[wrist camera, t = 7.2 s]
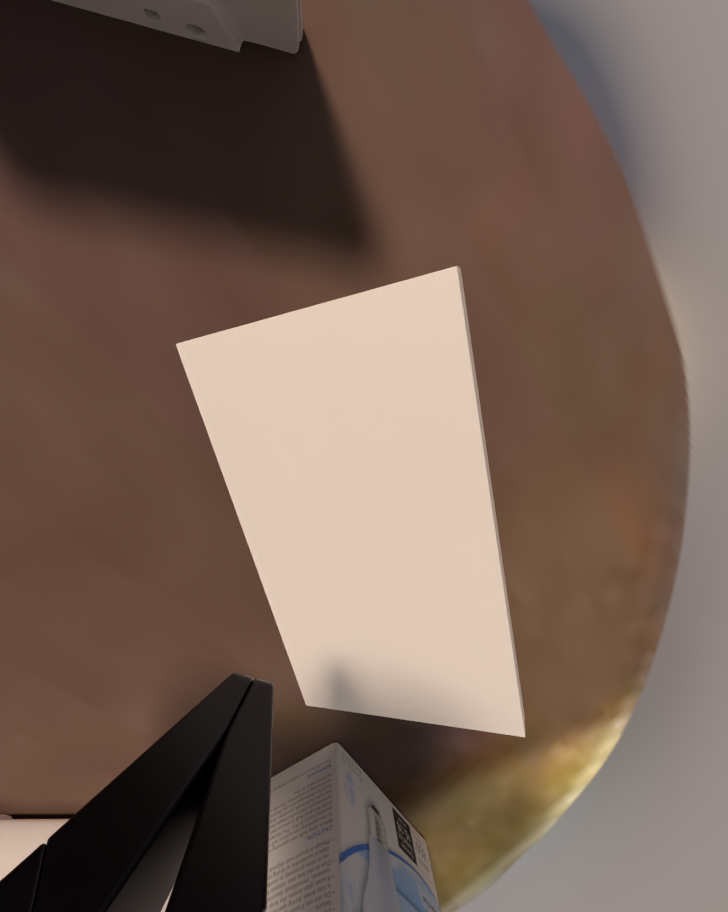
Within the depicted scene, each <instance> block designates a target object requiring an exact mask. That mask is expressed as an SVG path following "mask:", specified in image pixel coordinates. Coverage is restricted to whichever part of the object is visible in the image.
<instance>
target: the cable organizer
mask: <svg viewBox="0 0 728 912" xmlns="http://www.w3.org/2000/svg"><path fill="white" fill-rule="evenodd" d="M68 820H69V819H12V817H11V816H9V815H6V814H0V880H2V879H3V878H4V877H5V876H6V875H7V874H9V873H10V872H11V871H12V870H13V869H14V868H15V867H16V866H18V865H19V864H20V863H21V862H22V861H23V860H24V859H25V858H26V857H28V856H29V855H30V854H31V853H32V852H33V851H34V850H35V849H37V848H38V847H39V846H40V845H41V844H43V843H45V844H47V840H48V838H49V837H50V836H51V835H52V834H54V833H55V832H56V831H57V830H58V829H59V828H60V827H61V826H63V825H64V824H65V823H66V822H67V821H68ZM172 889H173V888H172ZM171 892H172V890H171ZM171 892H170V894H169V896H168V898H167V900H166V902H165V904H164V906H163V908H162V910H161V912H165V910H166V907H167V904H168V901H169V898H170V895H171Z"/></svg>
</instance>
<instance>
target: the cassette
mask: <svg viewBox="0 0 728 912" xmlns="http://www.w3.org/2000/svg"><path fill="white" fill-rule="evenodd" d="M52 1H55V2H59V3H63V4H66V5H70V6H73V7H77V8H81V9H84V10H88V11H92V12H95V13H99V14H102V15H106V16H110V17H113V18H117V19H120V20H124V21H128V22H131V23H135V24H138V25H142V26H146V27H149V28H153V29H156V30H160V31H164V32H167V33H171V34H174V35H178V36H182V37H185V38H189V39H192V40H196V41H200V42H203V43H207V44H210V45H214V46H218V47H221V48H225V49H228V50H232V51H236V52H239V51H240V48H241V44H242V42H243V41H248V42H252V43H256V44H260V45H264V46H267V47H271V48H274V49H278V50H281V51H285V52H288V53H292V54H295V53H297V51H298V50H299V43H300V41H302V34H303V12H302V0H52Z"/></svg>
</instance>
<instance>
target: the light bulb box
mask: <svg viewBox="0 0 728 912" xmlns="http://www.w3.org/2000/svg"><path fill="white" fill-rule="evenodd" d="M265 912H441V911H440V906H439V901H438V897H437V892H436V887H435V882H434V878H433V873H432V868H431V863H430V858H429V853H428V849H427V844H426V841H425V840H424V839H423V838H422V837H421V836H420V834H419V833H418V832H417V831H416V830H415V829H414V828H413V827H412V825H411V824H410V823H409V822H408V821H407V820H406V819H405V817H404V816H403V815H402V814H401V813H400V812H399V811H398V809H397V808H396V807H395V806H394V805H393V804H392V803H391V802H390V801H389V799H388V798H387V797H386V796H385V795H384V794H383V793H382V791H381V790H380V789H379V788H378V787H377V786H376V785H375V783H374V782H373V781H372V780H371V779H370V778H369V777H368V776H367V774H366V773H365V772H364V771H363V770H362V769H361V768H360V767H359V765H358V764H357V763H356V762H355V761H354V760H353V759H352V757H351V756H350V755H349V754H348V753H347V752H346V751H345V750H344V749H343V747H342V746H341V745H340V744H339V743H337V742H335V743H332V744H330V745H328V746H326V747H325V748H323V749H321V750H319V751H318V752H316V753H314V754H312V755H310V756H308V757H307V758H305V759H303V760H301V761H300V762H298V763H296V764H294V765H293V766H291V767H289V768H287V769H285V770H284V771H282V772H280V773H278V774H277V775H275V776H273V777H271V791H270V821H269V851H268V880H267V908H266V911H265Z"/></svg>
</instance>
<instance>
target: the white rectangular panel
mask: <svg viewBox="0 0 728 912" xmlns="http://www.w3.org/2000/svg"><path fill="white" fill-rule="evenodd" d="M176 346H177V349H178V352H179V355H180V357H181V360H182V363H183V366H184V369H185V371H186V374H187V377H188V380H189V382H190V385H191V388H192V391H193V393H194V396H195V399H196V402H197V404H198V407H199V410H200V413H201V416H202V418H203V421H204V424H205V427H206V429H207V432H208V435H209V438H210V440H211V443H212V446H213V449H214V452H215V454H216V457H217V460H218V463H219V465H220V468H221V471H222V474H223V476H224V479H225V482H226V485H227V487H228V490H229V493H230V496H231V499H232V501H233V504H234V507H235V510H236V512H237V515H238V518H239V521H240V523H241V526H242V529H243V532H244V535H245V537H246V540H247V543H248V546H249V548H250V551H251V554H252V557H253V559H254V562H255V565H256V568H257V570H258V573H259V576H260V579H261V582H262V584H263V587H264V590H265V593H266V595H267V598H268V601H269V604H270V606H271V609H272V612H273V615H274V618H275V620H276V623H277V626H278V629H279V631H280V634H281V637H282V640H283V642H284V645H285V648H286V651H287V653H288V656H289V659H290V662H291V665H292V667H293V670H294V673H295V676H296V678H297V681H298V684H299V687H300V689H301V692H302V695H303V698H304V701H305V703H306V705H307V706H314V707H321V708H328V709H334V710H341V711H348V712H355V713H362V714H369V715H376V716H383V717H389V718H396V719H403V720H410V721H417V722H424V723H431V724H438V725H444V726H451V727H458V728H465V729H472V730H479V731H486V732H493V733H499V734H506V735H513V736H520V737H525V720H524V709H523V702H522V695H521V688H520V681H519V674H518V667H517V660H516V653H515V646H514V639H513V632H512V625H511V618H510V611H509V604H508V597H507V590H506V583H505V576H504V569H503V562H502V555H501V548H500V541H499V534H498V527H497V520H496V513H495V506H494V499H493V492H492V485H491V478H490V471H489V464H488V457H487V450H486V443H485V436H484V429H483V422H482V415H481V408H480V401H479V394H478V387H477V380H476V373H475V366H474V359H473V352H472V345H471V338H470V331H469V324H468V317H467V310H466V303H465V296H464V289H463V282H462V275H461V268H460V267H458V266H455V267H451V268H448V269H444V270H441V271H437V272H433V273H430V274H426V275H423V276H419V277H415V278H412V279H408V280H405V281H401V282H397V283H394V284H390V285H387V286H383V287H379V288H376V289H372V290H368V291H365V292H361V293H358V294H354V295H350V296H347V297H343V298H340V299H336V300H332V301H329V302H325V303H322V304H318V305H314V306H311V307H307V308H304V309H300V310H296V311H293V312H289V313H286V314H282V315H278V316H275V317H271V318H268V319H264V320H260V321H257V322H253V323H250V324H246V325H242V326H239V327H235V328H232V329H228V330H224V331H221V332H217V333H214V334H210V335H206V336H203V337H199V338H196V339H192V340H188V341H185V342H181V343H178V344H176Z"/></svg>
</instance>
